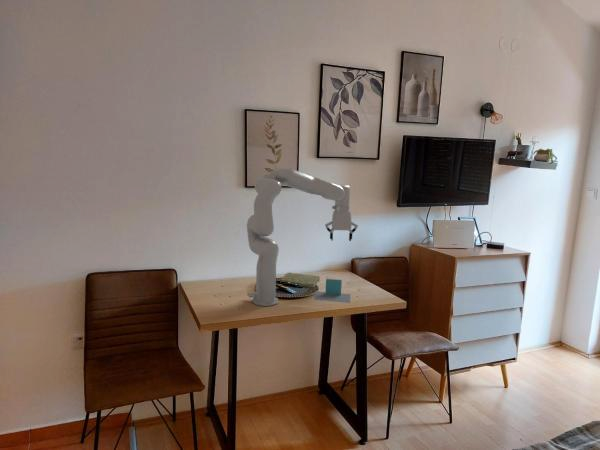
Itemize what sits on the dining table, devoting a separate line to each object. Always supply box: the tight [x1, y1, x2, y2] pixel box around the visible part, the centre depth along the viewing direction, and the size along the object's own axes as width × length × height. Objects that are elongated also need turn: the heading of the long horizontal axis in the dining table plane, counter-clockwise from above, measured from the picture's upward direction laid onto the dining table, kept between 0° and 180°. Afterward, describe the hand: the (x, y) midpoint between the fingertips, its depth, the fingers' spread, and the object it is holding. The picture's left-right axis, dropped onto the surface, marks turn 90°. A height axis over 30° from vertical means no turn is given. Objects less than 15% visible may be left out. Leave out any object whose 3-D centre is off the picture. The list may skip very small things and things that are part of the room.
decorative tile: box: [280, 272, 321, 288], centre depth 244 cm, size 19×20×4 cm
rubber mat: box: [313, 291, 352, 303], centre depth 220 cm, size 18×13×1 cm
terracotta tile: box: [324, 277, 343, 295], centre depth 223 cm, size 8×2×8 cm, turn 82°
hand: (340, 240), depth 229 cm, fingers open, 9 cm apart
